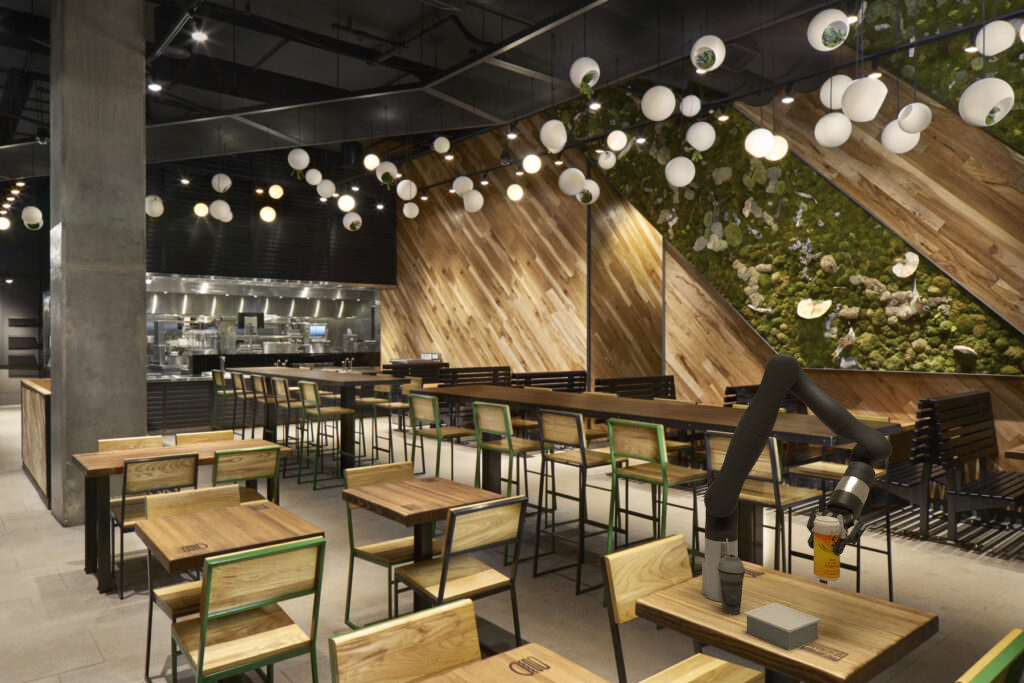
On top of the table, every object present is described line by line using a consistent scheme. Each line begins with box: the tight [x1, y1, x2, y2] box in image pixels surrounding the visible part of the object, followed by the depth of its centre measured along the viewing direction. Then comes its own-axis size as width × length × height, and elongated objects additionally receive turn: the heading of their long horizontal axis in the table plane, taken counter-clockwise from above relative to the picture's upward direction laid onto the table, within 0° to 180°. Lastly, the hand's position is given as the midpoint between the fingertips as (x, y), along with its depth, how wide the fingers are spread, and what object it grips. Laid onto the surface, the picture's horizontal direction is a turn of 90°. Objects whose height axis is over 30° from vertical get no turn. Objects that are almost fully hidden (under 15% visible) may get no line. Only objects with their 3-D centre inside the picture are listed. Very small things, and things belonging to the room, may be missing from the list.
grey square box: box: [743, 602, 822, 650], centre depth 166 cm, size 13×13×5 cm
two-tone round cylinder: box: [813, 516, 841, 582], centre depth 167 cm, size 6×6×15 cm
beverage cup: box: [717, 538, 746, 616], centre depth 182 cm, size 7×7×20 cm
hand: (823, 550), depth 166 cm, fingers closed on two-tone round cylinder, 6 cm apart
